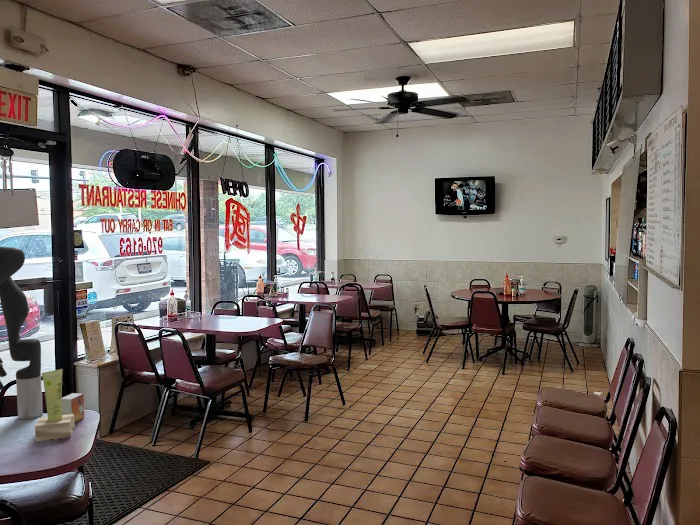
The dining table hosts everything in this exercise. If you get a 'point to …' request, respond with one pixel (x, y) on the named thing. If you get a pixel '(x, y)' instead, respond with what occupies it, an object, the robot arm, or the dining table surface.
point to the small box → (73, 405)
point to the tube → (53, 394)
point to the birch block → (54, 428)
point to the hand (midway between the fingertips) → (2, 382)
